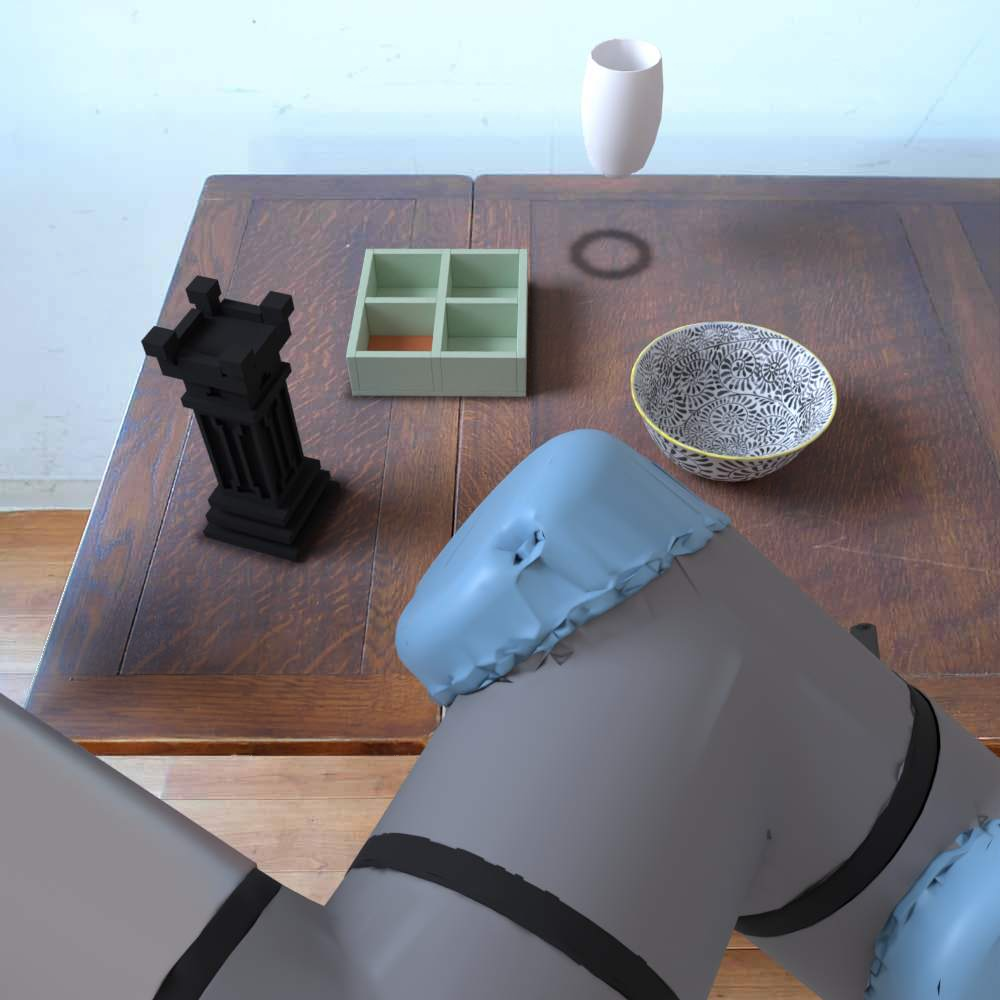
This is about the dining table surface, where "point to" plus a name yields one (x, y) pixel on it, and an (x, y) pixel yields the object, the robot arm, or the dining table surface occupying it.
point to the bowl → (731, 398)
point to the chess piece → (246, 419)
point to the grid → (440, 323)
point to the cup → (621, 105)
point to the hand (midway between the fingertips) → (636, 652)
